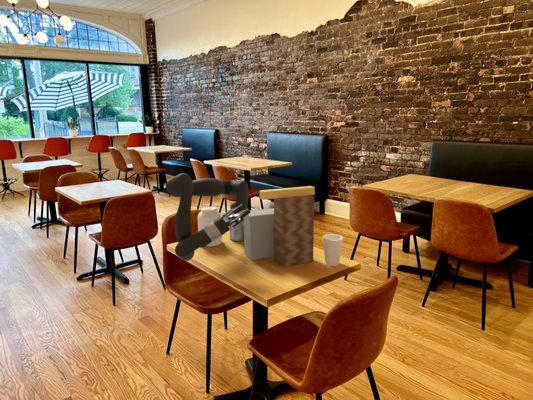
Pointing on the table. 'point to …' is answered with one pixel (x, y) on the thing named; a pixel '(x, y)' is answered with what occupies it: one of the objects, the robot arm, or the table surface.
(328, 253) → the foam cup
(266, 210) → the block
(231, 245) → the table surface
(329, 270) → the table surface
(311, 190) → the rail
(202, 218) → the white jar
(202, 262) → the table surface
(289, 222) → the stand
